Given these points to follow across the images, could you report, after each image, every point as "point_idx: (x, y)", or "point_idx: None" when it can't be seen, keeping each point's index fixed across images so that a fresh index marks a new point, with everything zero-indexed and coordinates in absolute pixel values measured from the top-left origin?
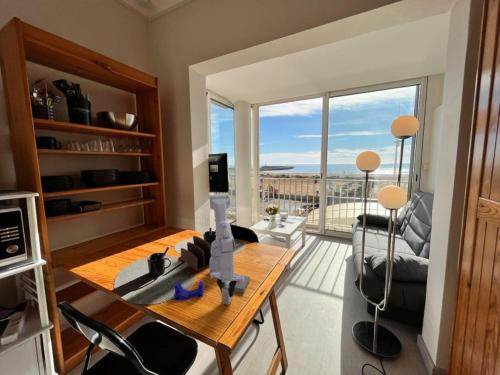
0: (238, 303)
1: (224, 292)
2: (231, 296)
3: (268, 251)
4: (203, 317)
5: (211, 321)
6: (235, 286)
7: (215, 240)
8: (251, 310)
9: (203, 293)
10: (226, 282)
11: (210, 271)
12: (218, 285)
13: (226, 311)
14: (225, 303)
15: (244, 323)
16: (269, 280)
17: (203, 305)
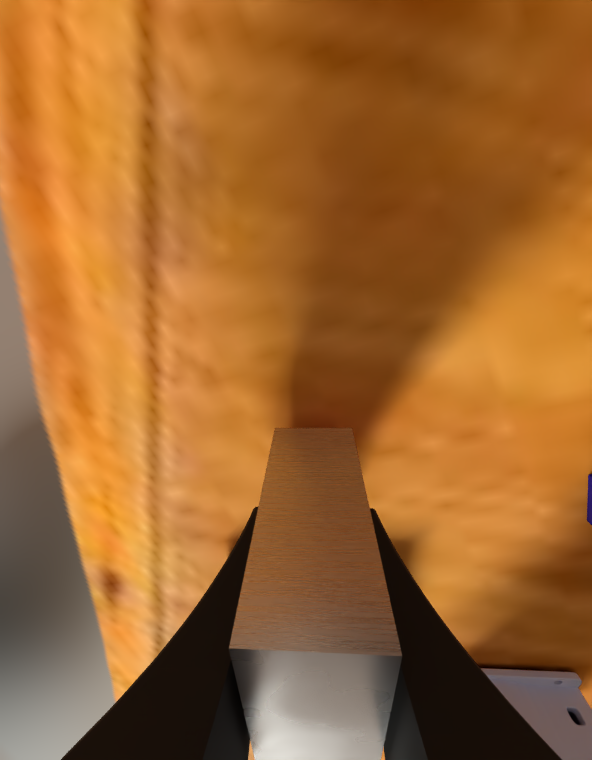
0: (218, 471)
1: (323, 557)
2: (251, 516)
3: None
4: (508, 201)
5: (383, 166)
6: None
7: None
8: (72, 426)
9: (587, 511)
10: (358, 751)
11: (585, 709)
12: (507, 717)
13: (278, 361)
14: (311, 432)
15: (27, 259)
16: (128, 669)
17: (553, 376)
